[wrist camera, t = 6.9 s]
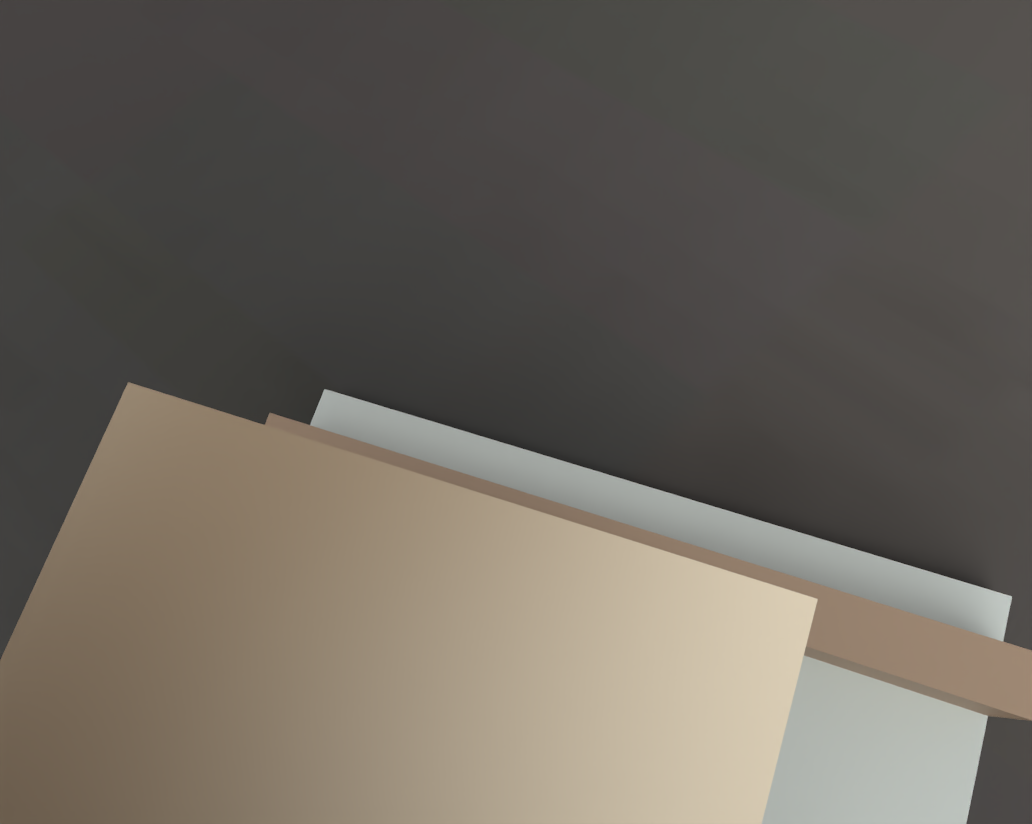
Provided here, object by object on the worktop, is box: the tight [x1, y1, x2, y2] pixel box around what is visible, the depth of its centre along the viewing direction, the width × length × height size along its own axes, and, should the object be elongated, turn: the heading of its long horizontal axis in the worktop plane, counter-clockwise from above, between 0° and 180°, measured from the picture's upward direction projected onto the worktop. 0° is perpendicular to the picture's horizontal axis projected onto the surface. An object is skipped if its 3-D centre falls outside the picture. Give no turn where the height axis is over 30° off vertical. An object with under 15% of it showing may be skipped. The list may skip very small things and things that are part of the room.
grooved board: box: [265, 389, 1032, 824], centre depth 19 cm, size 16×12×3 cm
